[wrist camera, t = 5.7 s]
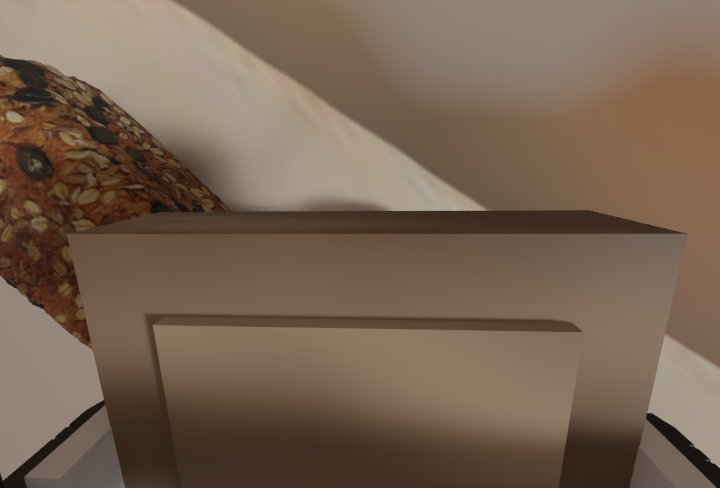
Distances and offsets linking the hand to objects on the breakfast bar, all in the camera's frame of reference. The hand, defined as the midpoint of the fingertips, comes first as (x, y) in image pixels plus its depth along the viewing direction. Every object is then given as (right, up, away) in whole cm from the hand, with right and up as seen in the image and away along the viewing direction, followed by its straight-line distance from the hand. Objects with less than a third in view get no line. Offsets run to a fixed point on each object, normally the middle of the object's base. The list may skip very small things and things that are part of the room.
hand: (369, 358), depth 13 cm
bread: (-17, +7, +14) cm, 23 cm away
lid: (0, 0, -2) cm, 2 cm away
